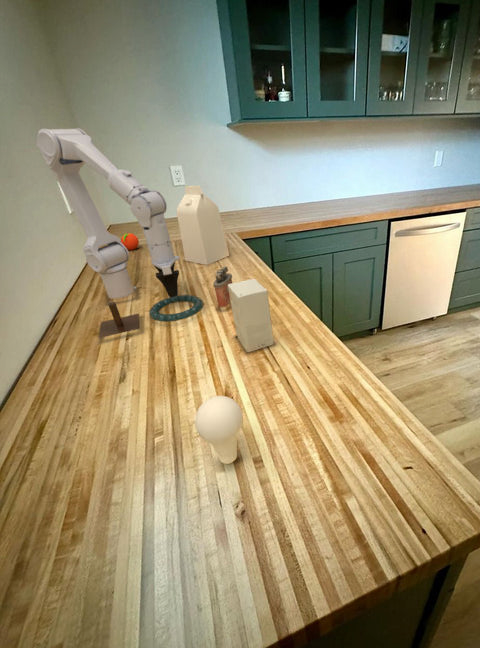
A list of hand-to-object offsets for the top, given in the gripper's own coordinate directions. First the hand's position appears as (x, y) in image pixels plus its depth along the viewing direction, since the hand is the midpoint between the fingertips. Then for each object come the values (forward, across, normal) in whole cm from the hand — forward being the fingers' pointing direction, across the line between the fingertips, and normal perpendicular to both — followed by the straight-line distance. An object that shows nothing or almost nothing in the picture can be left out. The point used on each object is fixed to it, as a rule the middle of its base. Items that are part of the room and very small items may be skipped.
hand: (172, 291), depth 93 cm
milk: (+4, +37, -16) cm, 41 cm away
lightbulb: (+4, -59, -1) cm, 59 cm away
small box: (+4, -30, -14) cm, 33 cm away
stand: (+4, -8, +14) cm, 17 cm away
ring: (+3, -6, 0) cm, 6 cm away
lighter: (+4, -8, -13) cm, 16 cm away
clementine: (+4, +69, +11) cm, 70 cm away
